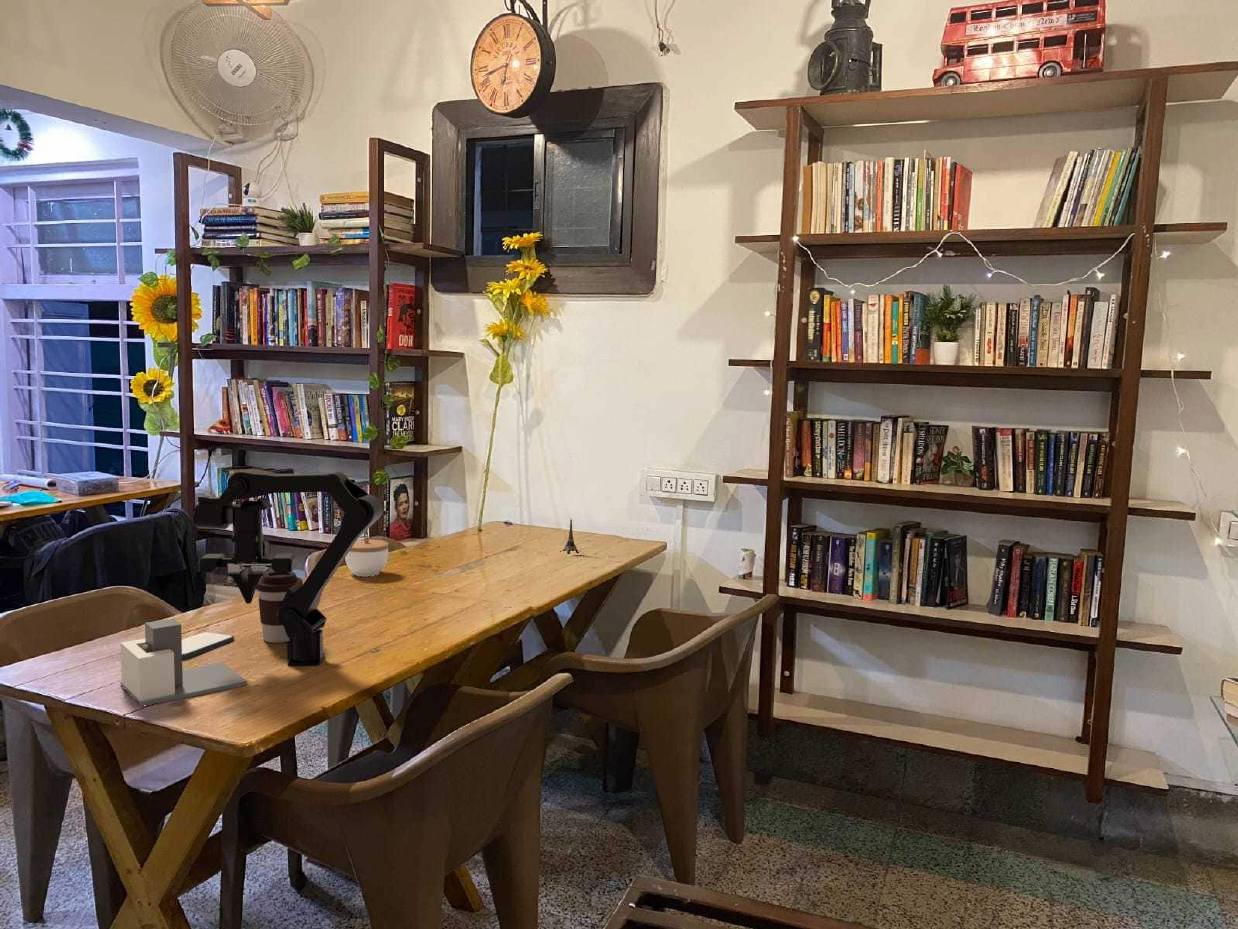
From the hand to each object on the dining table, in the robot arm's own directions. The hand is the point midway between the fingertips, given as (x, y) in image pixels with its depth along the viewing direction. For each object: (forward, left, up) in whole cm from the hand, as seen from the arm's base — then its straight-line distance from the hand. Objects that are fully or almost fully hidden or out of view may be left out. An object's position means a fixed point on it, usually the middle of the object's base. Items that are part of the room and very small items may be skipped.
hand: (248, 603), depth 198 cm
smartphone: (+14, -8, -13) cm, 20 cm away
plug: (+11, +18, -11) cm, 24 cm away
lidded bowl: (-13, -78, -12) cm, 80 cm away
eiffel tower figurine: (-75, -106, -13) cm, 131 cm away
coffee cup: (-3, -14, -12) cm, 19 cm away
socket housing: (+8, +16, -12) cm, 22 cm away
